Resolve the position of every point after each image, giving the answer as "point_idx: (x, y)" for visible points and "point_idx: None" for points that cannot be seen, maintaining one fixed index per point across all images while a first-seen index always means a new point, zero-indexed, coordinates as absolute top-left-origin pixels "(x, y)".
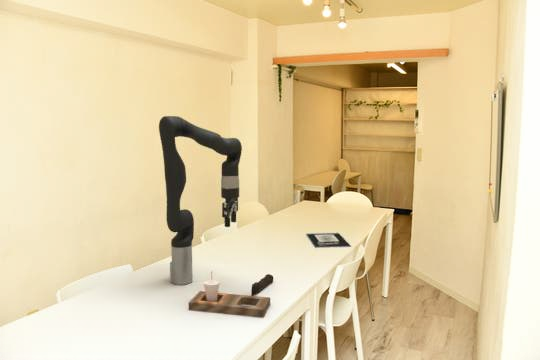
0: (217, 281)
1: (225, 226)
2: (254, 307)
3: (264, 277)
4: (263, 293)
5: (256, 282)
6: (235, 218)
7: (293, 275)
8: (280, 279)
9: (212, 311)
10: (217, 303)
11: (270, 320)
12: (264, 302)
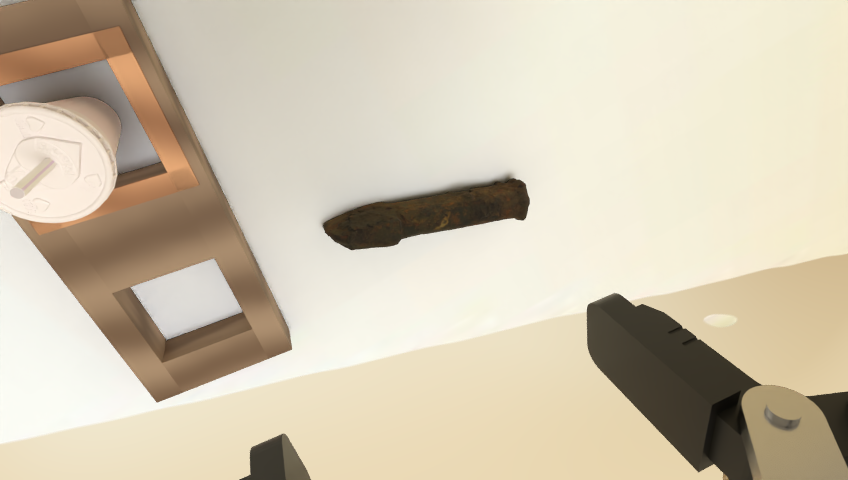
0: (94, 190)
1: (257, 454)
2: (150, 367)
3: (488, 206)
4: None
5: (398, 227)
6: (633, 397)
7: (602, 232)
8: (549, 214)
9: None
10: None
11: (159, 408)
12: (229, 363)
